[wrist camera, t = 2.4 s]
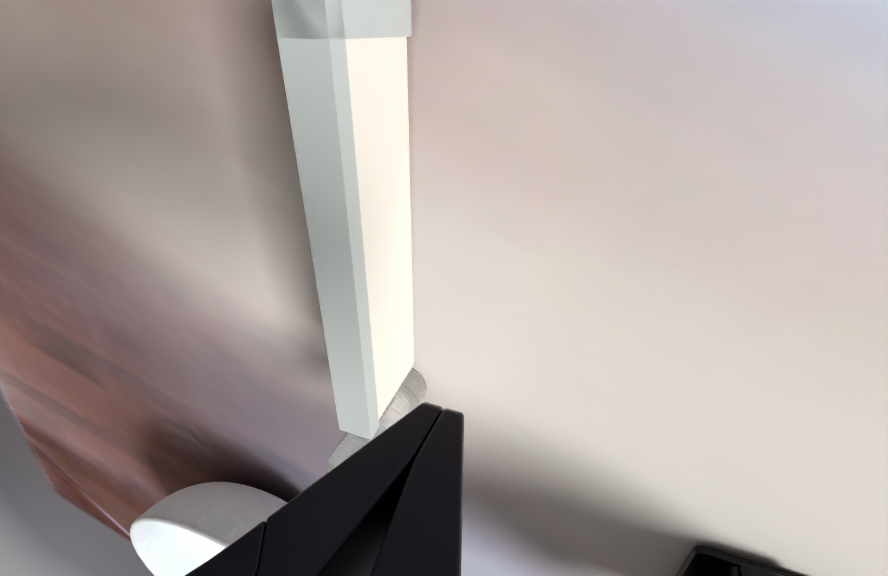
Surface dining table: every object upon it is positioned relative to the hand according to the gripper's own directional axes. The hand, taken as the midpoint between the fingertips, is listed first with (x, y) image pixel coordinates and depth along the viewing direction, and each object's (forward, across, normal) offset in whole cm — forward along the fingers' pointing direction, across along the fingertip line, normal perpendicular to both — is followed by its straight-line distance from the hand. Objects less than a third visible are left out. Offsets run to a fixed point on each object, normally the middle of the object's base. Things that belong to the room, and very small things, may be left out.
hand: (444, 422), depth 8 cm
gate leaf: (+11, +6, +1) cm, 12 cm away
